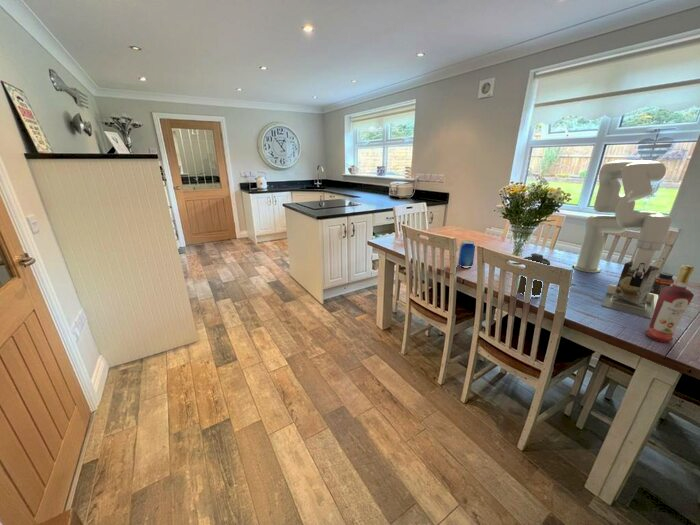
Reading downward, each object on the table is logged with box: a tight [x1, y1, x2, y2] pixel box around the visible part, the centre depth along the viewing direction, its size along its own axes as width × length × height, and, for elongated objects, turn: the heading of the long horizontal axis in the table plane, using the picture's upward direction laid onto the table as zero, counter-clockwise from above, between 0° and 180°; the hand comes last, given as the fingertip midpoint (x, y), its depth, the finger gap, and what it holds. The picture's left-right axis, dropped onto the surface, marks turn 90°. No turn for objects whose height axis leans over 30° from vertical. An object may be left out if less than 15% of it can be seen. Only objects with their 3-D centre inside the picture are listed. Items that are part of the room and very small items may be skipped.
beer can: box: [457, 239, 476, 267], centre depth 167 cm, size 8×8×16 cm
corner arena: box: [601, 284, 658, 320], centre depth 121 cm, size 18×16×4 cm
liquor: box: [644, 264, 695, 343], centre depth 94 cm, size 7×7×28 cm
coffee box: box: [614, 260, 660, 304], centre depth 119 cm, size 9×6×16 cm
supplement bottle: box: [650, 271, 675, 297], centre depth 126 cm, size 6×6×11 cm
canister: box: [517, 253, 551, 296], centre depth 131 cm, size 11×10×20 cm
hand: (635, 282), depth 120 cm, fingers closed on coffee box, 8 cm apart
